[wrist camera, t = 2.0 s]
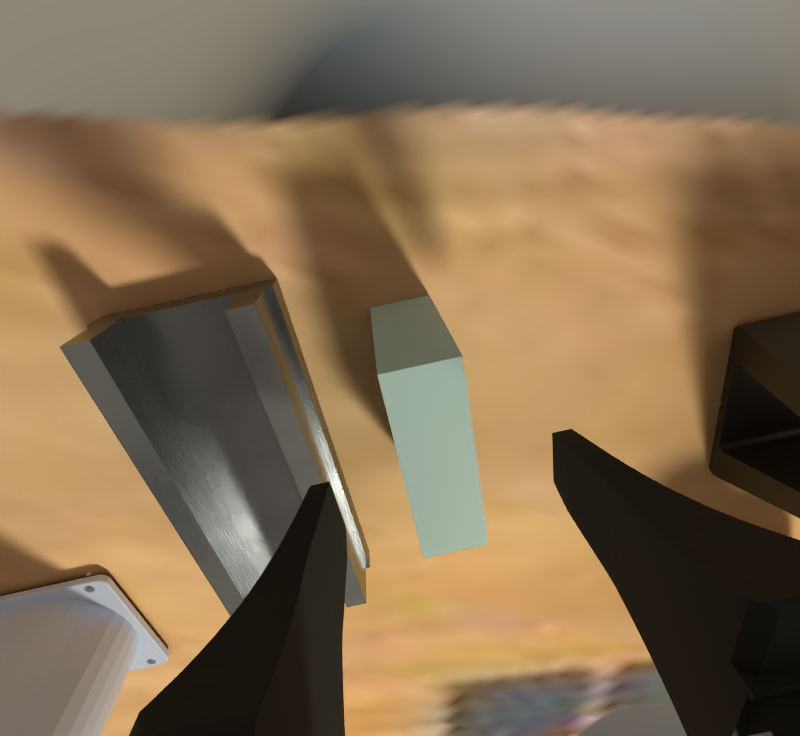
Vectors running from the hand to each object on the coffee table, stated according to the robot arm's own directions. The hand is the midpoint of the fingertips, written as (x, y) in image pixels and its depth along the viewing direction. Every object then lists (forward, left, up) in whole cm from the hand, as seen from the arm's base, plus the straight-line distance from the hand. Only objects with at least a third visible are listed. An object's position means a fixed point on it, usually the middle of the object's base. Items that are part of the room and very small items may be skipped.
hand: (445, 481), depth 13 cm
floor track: (-8, -2, -6) cm, 11 cm away
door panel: (0, 0, -7) cm, 7 cm away
